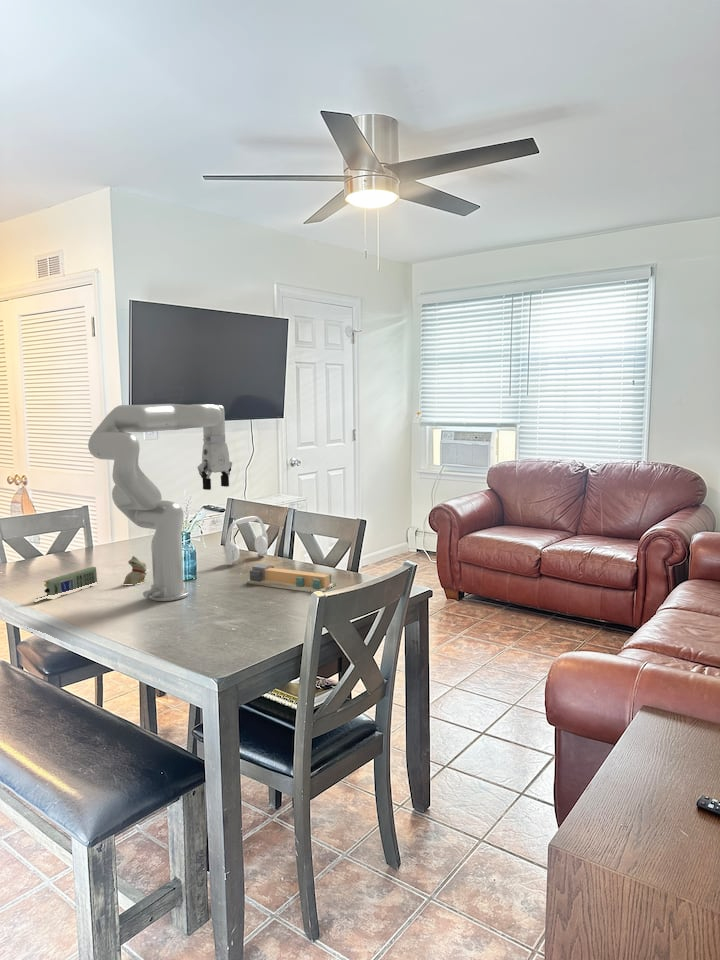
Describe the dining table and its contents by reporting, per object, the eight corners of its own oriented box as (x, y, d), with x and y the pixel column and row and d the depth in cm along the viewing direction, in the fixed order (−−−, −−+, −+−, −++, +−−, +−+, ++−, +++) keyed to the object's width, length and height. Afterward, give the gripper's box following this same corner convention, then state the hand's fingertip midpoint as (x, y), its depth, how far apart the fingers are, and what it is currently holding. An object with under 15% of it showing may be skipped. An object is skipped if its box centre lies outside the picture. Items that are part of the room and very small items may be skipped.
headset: (233, 567, 254) (232, 521, 252) (221, 564, 258) (220, 519, 256) (271, 557, 269) (270, 514, 267) (259, 554, 274) (258, 512, 272)
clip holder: (321, 593, 218) (321, 580, 217) (246, 583, 231) (246, 571, 231) (335, 585, 227) (335, 573, 226) (263, 576, 240) (262, 564, 239)
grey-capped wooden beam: (324, 588, 220) (323, 575, 220) (252, 578, 233) (252, 566, 233) (330, 584, 224) (330, 572, 224) (259, 575, 237) (259, 563, 237)
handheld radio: (99, 585, 232) (38, 605, 209) (92, 584, 233) (30, 605, 211) (97, 566, 231) (36, 585, 209) (90, 566, 233) (28, 584, 210)
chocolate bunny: (147, 584, 232) (145, 556, 230) (123, 586, 229) (121, 558, 228) (147, 580, 237) (145, 553, 236) (123, 582, 235) (122, 554, 233)
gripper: (206, 441, 224) (208, 491, 225) (238, 438, 239) (239, 485, 241) (189, 441, 227) (191, 490, 229) (222, 438, 242) (223, 484, 244)
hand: (216, 487), depth 235 cm, fingers open, 9 cm apart
